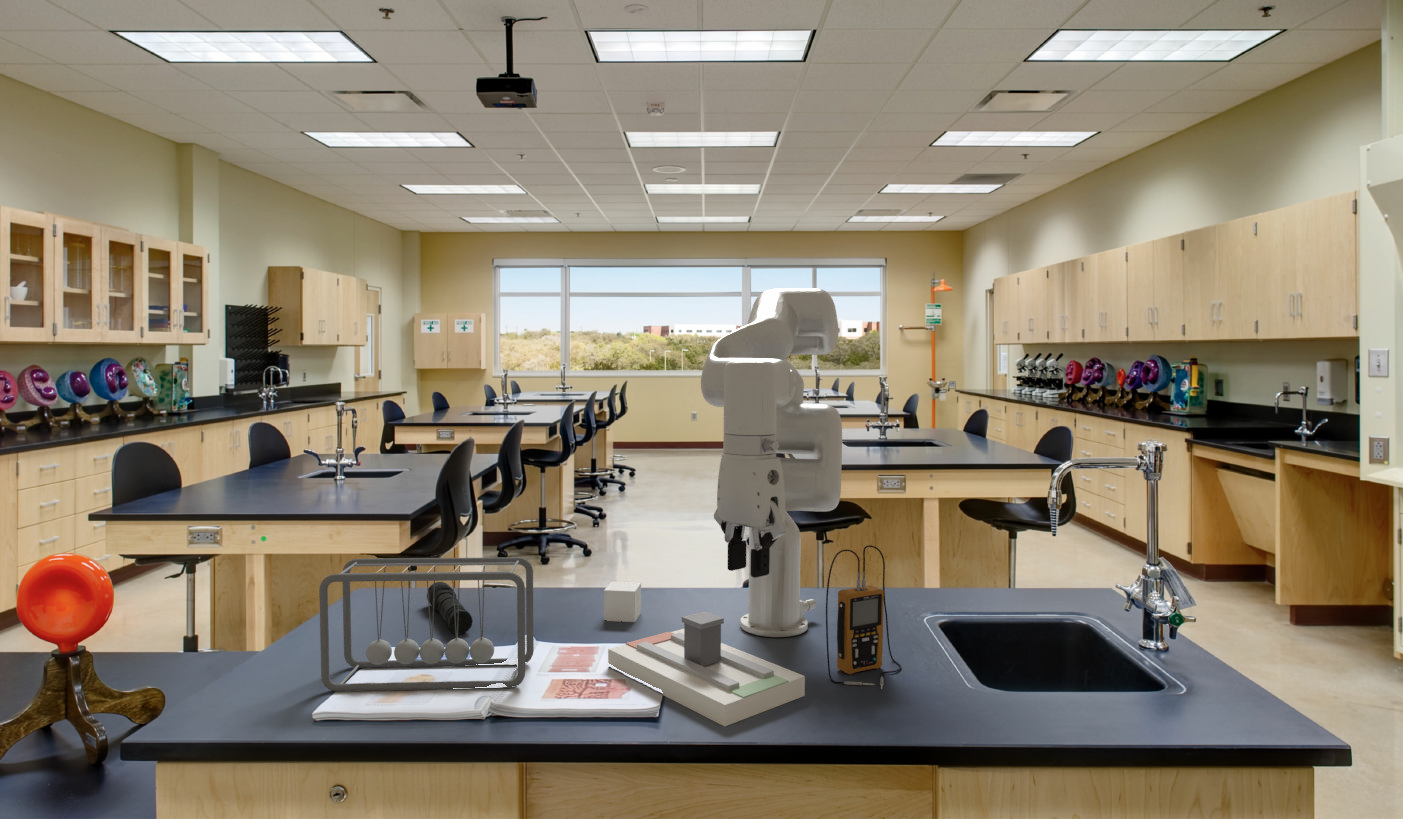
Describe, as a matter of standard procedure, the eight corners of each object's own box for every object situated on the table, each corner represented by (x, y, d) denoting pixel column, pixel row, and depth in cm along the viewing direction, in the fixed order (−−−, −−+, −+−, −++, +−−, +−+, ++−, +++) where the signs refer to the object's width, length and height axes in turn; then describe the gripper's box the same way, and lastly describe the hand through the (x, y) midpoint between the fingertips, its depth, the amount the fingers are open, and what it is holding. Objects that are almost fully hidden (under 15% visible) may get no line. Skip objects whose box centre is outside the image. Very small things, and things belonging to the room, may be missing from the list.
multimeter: (856, 697, 123) (859, 564, 121) (817, 674, 132) (819, 549, 130) (932, 679, 129) (935, 553, 128) (889, 659, 138) (892, 540, 137)
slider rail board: (684, 645, 144) (684, 623, 144) (804, 695, 123) (804, 670, 123) (608, 667, 134) (608, 644, 134) (724, 726, 113) (724, 699, 112)
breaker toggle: (703, 653, 131) (704, 611, 131) (723, 661, 128) (723, 618, 127) (681, 659, 128) (681, 616, 128) (700, 668, 125) (701, 624, 124)
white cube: (604, 621, 157) (603, 590, 157) (611, 611, 163) (611, 581, 163) (635, 622, 157) (635, 591, 156) (641, 612, 163) (641, 582, 162)
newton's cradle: (320, 693, 123) (317, 575, 122) (345, 666, 133) (343, 558, 132) (524, 689, 125) (524, 573, 124) (534, 663, 135) (533, 556, 134)
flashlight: (451, 603, 168) (451, 579, 168) (475, 634, 150) (474, 607, 150) (425, 607, 166) (425, 582, 166) (446, 638, 148) (446, 610, 147)
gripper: (811, 449, 114) (809, 580, 116) (729, 440, 127) (728, 557, 128) (773, 453, 110) (771, 589, 111) (691, 443, 122) (691, 565, 123)
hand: (748, 571), depth 120 cm, fingers open, 4 cm apart
